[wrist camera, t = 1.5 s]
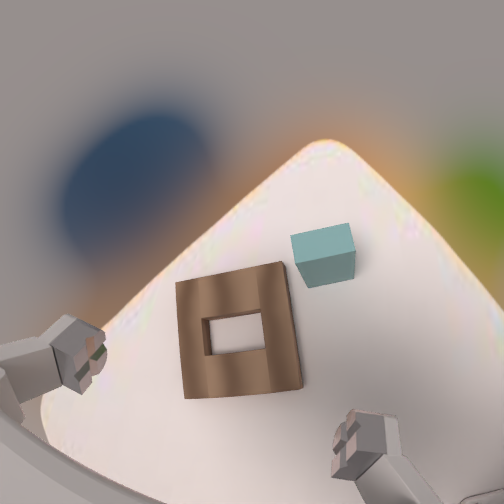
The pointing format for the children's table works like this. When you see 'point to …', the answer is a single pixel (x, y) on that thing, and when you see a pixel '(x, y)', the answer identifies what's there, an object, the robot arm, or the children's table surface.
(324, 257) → the teal rectangular block
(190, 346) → the slot board
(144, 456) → the children's table surface
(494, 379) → the children's table surface
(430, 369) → the children's table surface
